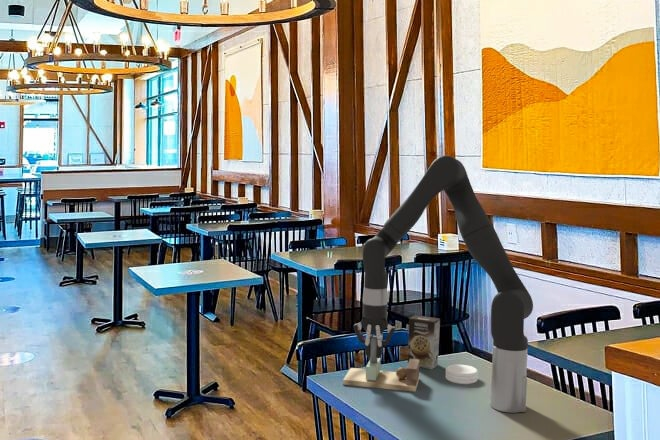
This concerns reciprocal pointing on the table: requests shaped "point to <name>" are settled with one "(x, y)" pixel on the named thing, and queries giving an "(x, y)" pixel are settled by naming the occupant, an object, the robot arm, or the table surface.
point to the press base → (387, 378)
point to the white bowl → (461, 374)
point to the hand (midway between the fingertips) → (373, 356)
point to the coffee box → (424, 340)
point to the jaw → (373, 360)
